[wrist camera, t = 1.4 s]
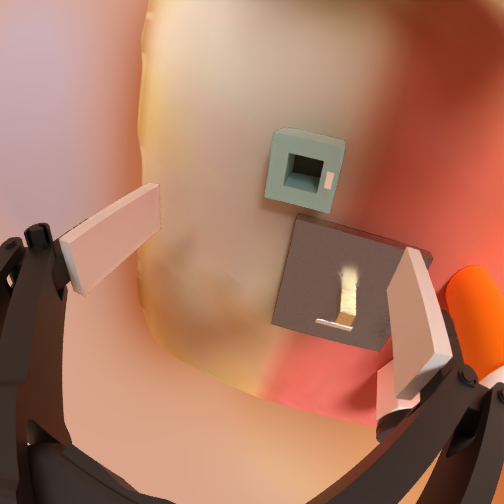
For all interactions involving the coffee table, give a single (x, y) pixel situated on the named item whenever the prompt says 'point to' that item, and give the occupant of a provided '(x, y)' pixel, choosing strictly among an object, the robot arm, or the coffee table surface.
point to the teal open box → (300, 185)
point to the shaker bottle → (478, 322)
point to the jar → (389, 403)
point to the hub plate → (339, 283)
